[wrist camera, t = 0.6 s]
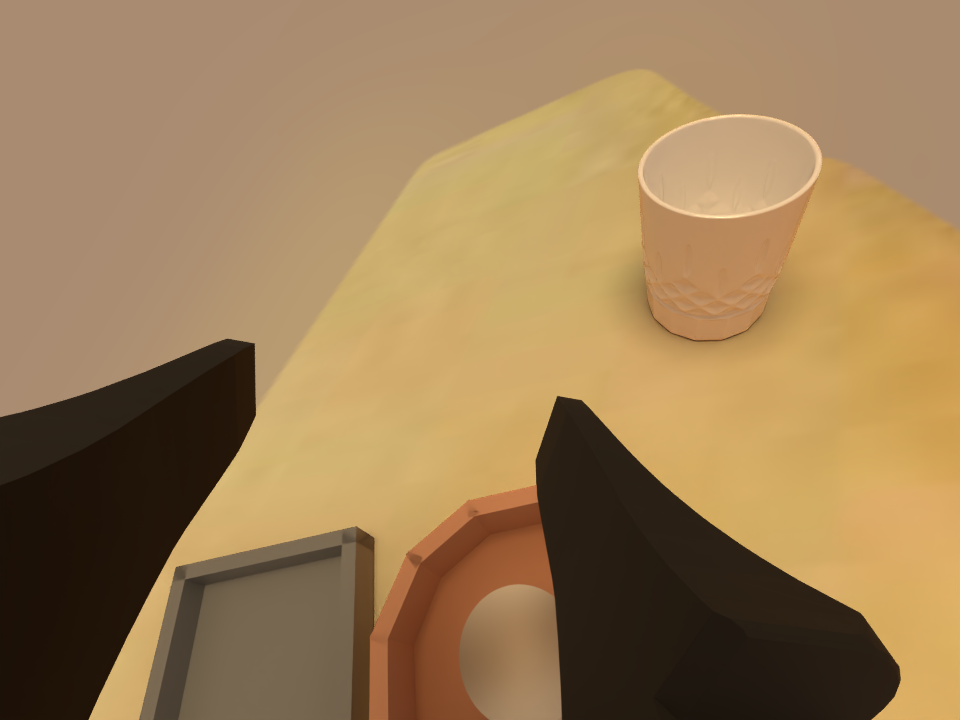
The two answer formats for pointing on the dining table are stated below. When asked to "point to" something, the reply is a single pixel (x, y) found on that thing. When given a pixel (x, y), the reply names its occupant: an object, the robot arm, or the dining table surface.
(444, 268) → the dining table surface
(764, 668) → the robot arm
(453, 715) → the orange shallow faceted dish
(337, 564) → the charcoal tray
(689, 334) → the white cup
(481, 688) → the taupe rounded cylinder
